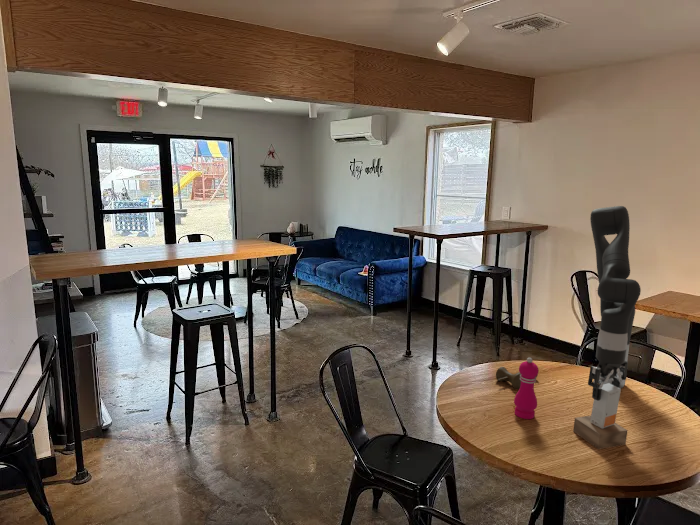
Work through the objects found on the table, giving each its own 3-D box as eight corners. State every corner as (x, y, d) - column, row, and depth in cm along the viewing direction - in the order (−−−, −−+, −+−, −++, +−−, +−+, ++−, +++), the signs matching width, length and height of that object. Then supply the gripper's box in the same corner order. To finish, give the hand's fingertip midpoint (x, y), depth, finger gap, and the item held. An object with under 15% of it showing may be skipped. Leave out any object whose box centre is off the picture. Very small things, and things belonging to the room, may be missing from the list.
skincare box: (602, 429, 138) (608, 392, 135) (589, 422, 141) (595, 386, 139) (615, 424, 140) (621, 388, 138) (602, 418, 144) (608, 382, 141)
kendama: (543, 383, 181) (507, 392, 171) (522, 374, 189) (487, 383, 179) (544, 368, 180) (508, 377, 170) (524, 360, 188) (488, 368, 178)
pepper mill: (509, 414, 155) (514, 357, 151) (518, 407, 160) (523, 352, 156) (530, 422, 150) (536, 363, 146) (539, 414, 155) (545, 357, 151)
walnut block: (599, 428, 148) (601, 414, 147) (625, 445, 138) (627, 430, 138) (573, 432, 145) (574, 417, 144) (597, 450, 136) (599, 434, 135)
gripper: (615, 337, 143) (608, 386, 146) (584, 344, 136) (578, 395, 139) (639, 345, 136) (632, 397, 139) (608, 353, 130) (601, 407, 133)
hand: (605, 396), depth 139 cm, fingers open, 8 cm apart
